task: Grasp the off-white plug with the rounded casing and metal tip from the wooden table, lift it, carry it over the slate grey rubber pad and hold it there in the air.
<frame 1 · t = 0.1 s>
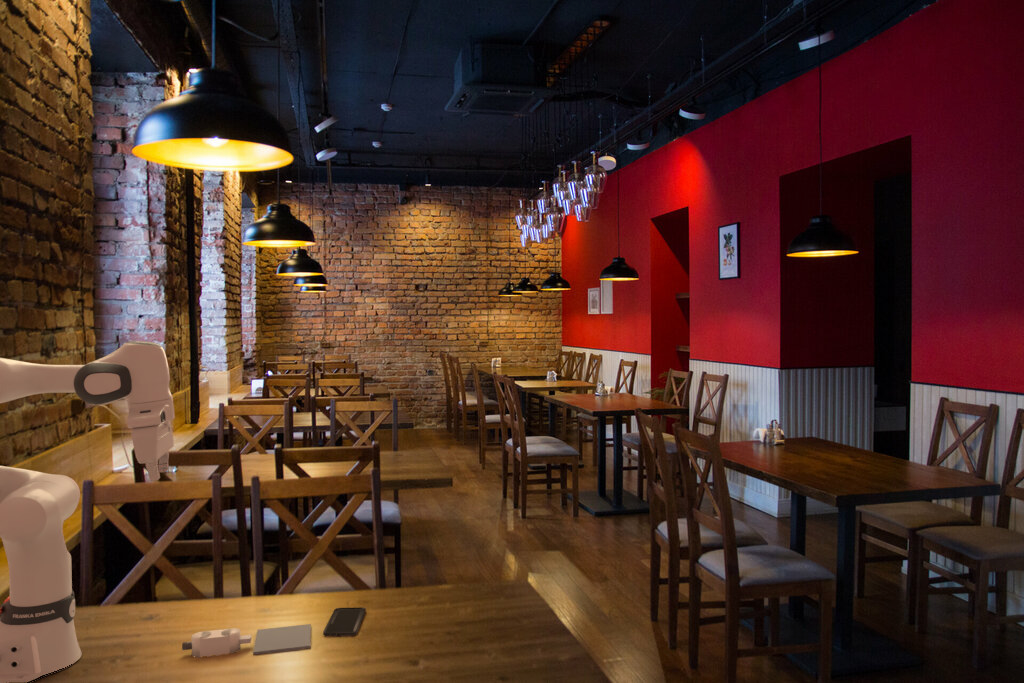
hand: (159, 475, 158), 39 cm above the table, tool pointing down, fingers open, 8 cm apart
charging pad: (283, 640, 163), on the table
phone: (345, 625, 173), on the table
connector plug: (216, 651, 158), on the table
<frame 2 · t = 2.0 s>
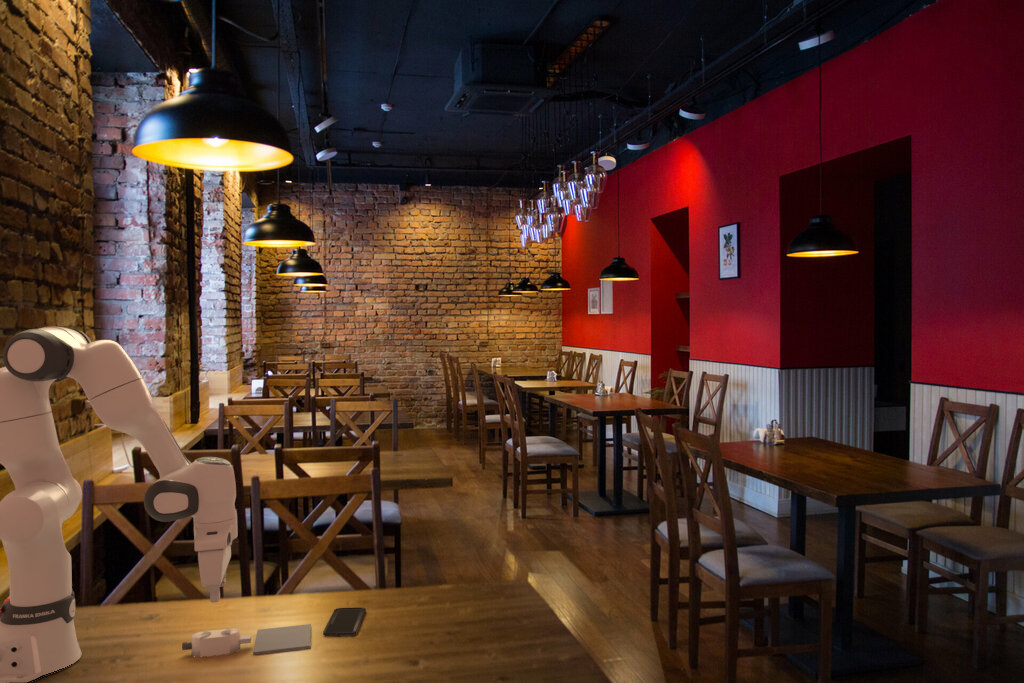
hand: (218, 593, 157), 13 cm above the table, tool pointing down, fingers open, 8 cm apart
nothing on the table moved.
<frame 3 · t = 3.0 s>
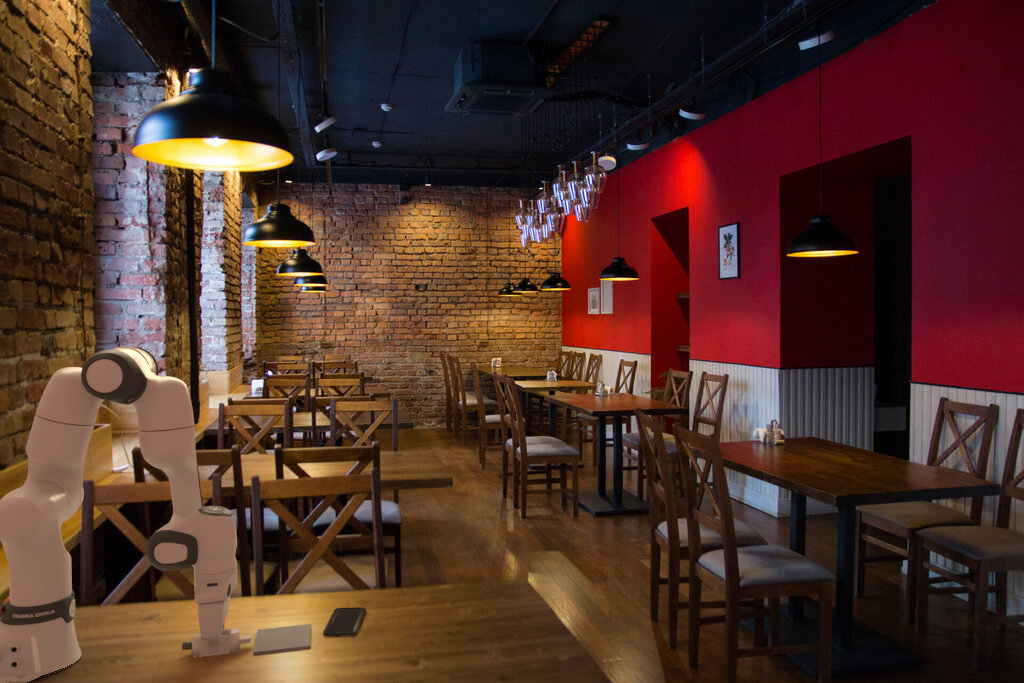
hand: (217, 642, 158), 2 cm above the table, tool pointing down, fingers open, 8 cm apart
nothing on the table moved.
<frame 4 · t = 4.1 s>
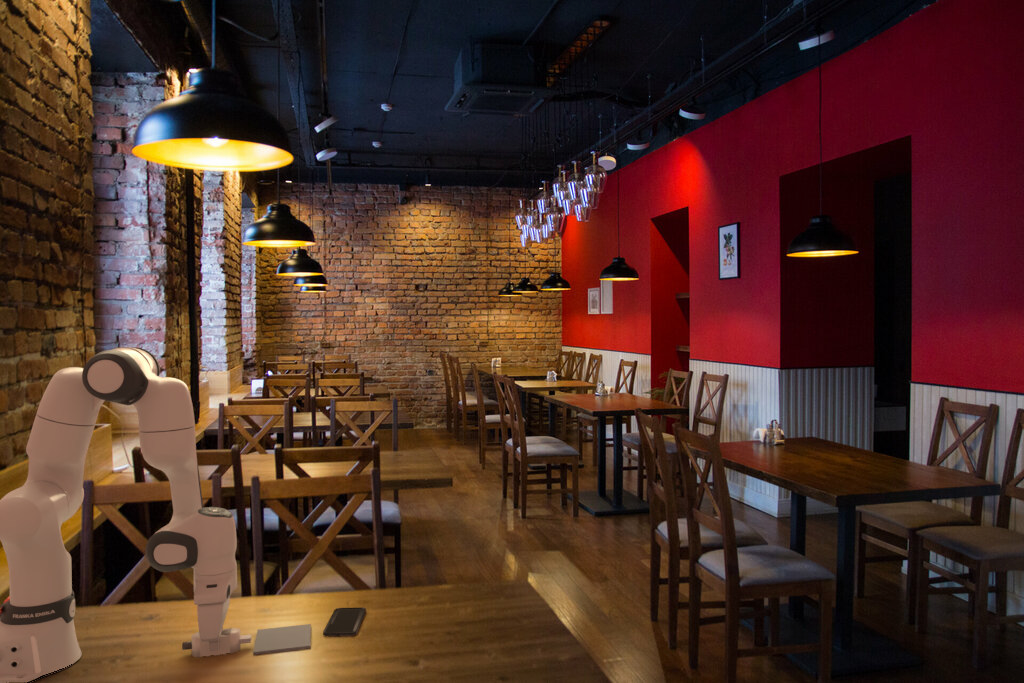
hand: (216, 644, 158), 2 cm above the table, tool pointing down, fingers closed on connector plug, 4 cm apart
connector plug: (216, 651, 158), on the table, touching gripper
everything else where it was.
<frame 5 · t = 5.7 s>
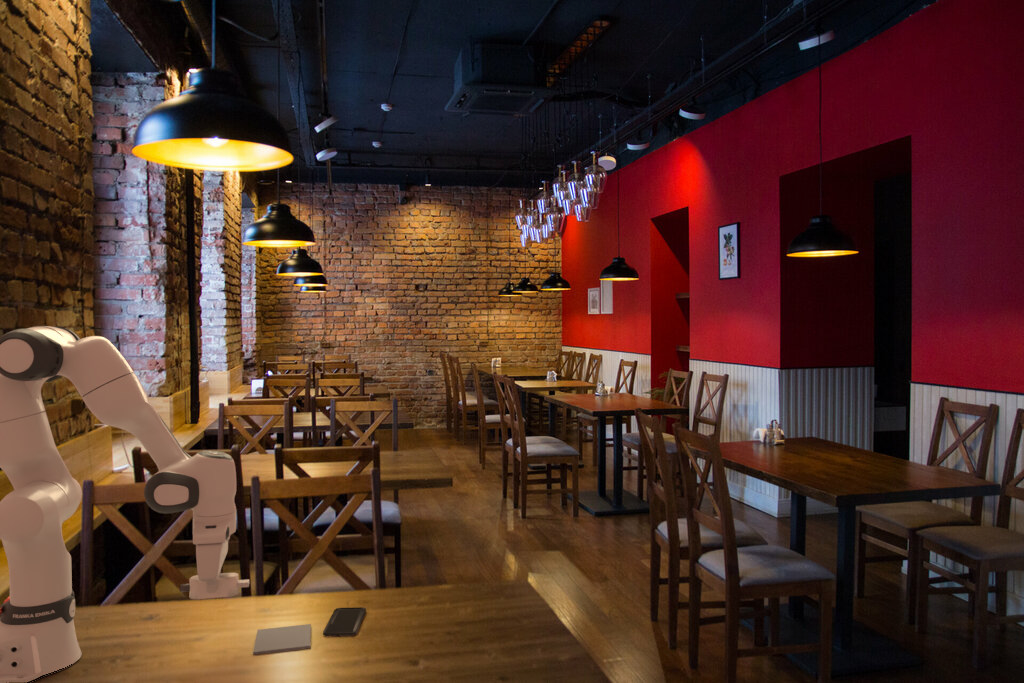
hand: (213, 587, 157), 14 cm above the table, tool pointing down, fingers closed on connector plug, 4 cm apart
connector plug: (214, 594, 157), point 13 cm above the table, touching gripper
everything else where it was.
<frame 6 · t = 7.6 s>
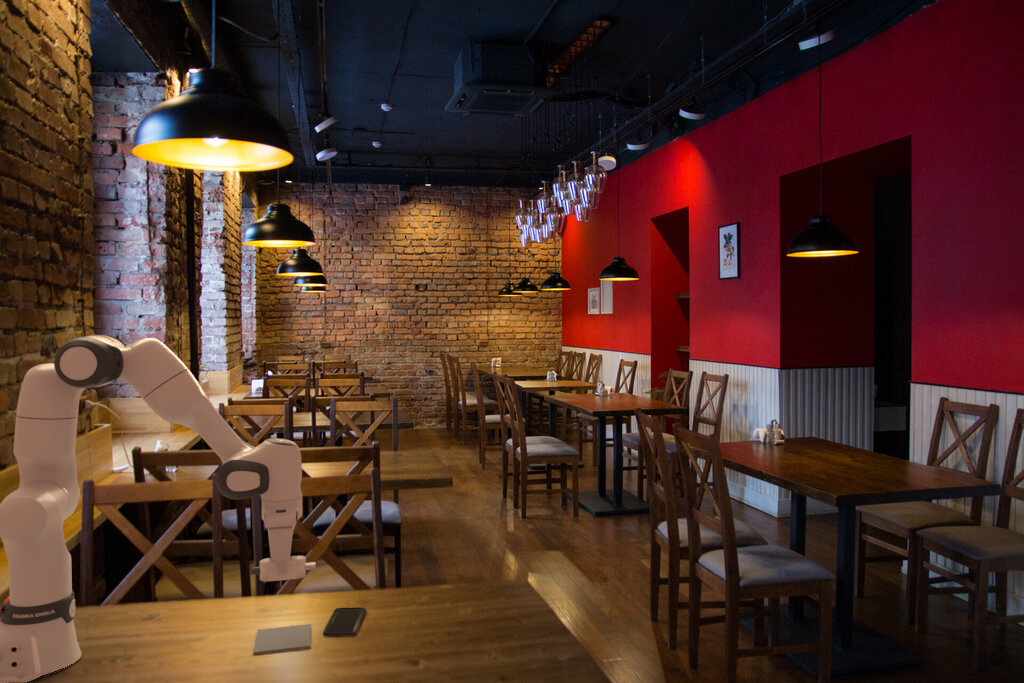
hand: (282, 570, 163), 16 cm above the table, tool pointing down, fingers closed on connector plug, 4 cm apart
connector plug: (282, 577, 163), point 14 cm above the table, touching gripper
everything else where it was.
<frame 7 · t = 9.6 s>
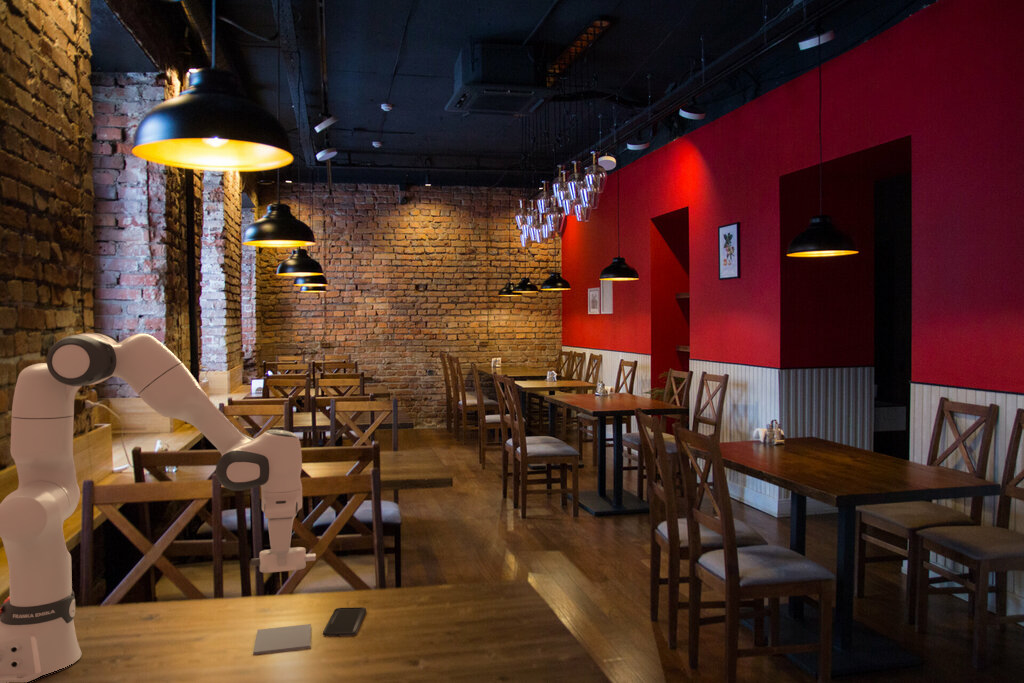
hand: (282, 561, 163), 18 cm above the table, tool pointing down, fingers closed on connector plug, 4 cm apart
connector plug: (282, 568, 163), point 16 cm above the table, touching gripper
everything else where it was.
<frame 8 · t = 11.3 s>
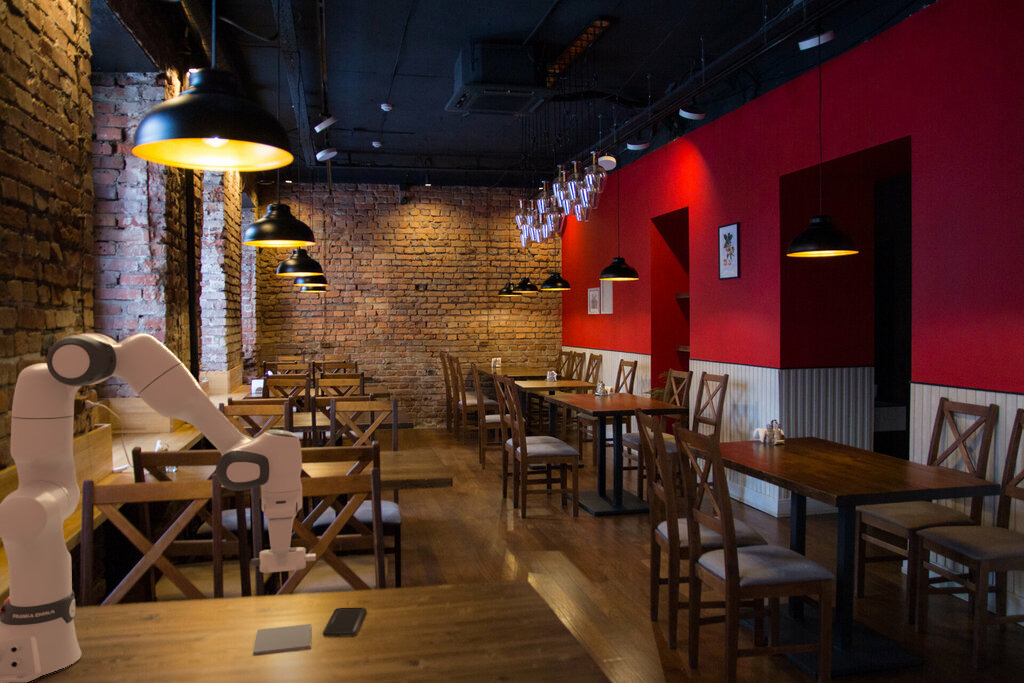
hand: (282, 561, 163), 18 cm above the table, tool pointing down, fingers closed on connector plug, 4 cm apart
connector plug: (282, 568, 163), point 16 cm above the table, touching gripper
everything else where it was.
at the end: the gripper is holding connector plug; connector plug inside the target area on the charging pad (0.1 cm from its centre), point 16.5 cm above the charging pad's base; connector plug touching gripper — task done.
